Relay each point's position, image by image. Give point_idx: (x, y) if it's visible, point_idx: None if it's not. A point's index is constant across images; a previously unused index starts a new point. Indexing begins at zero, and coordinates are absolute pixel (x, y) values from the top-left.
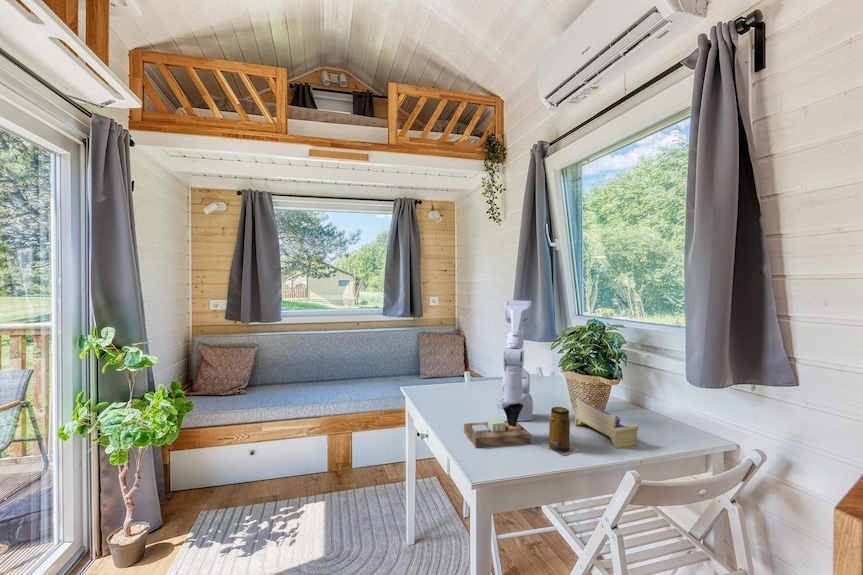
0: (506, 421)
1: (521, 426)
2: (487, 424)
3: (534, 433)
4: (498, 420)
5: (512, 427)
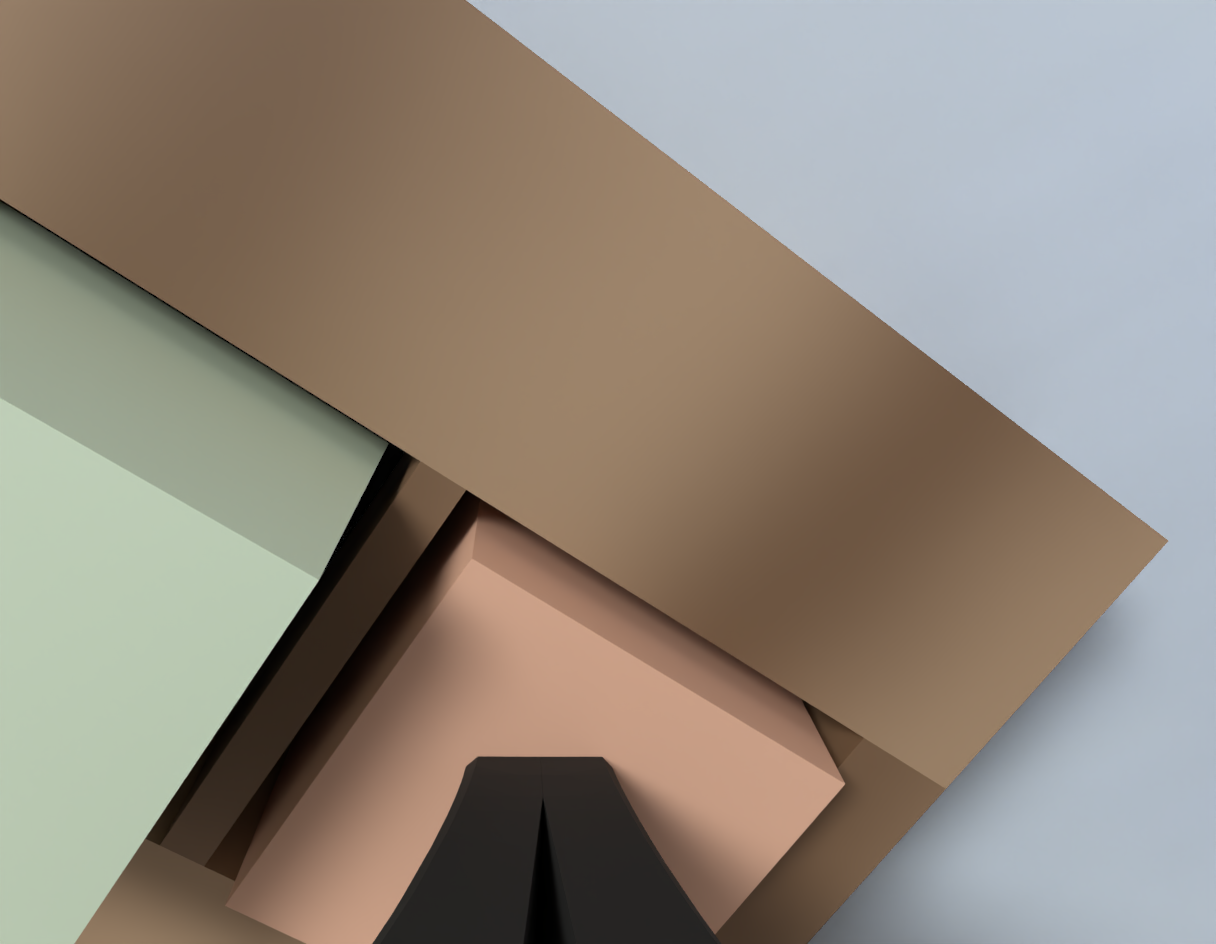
0: (884, 409)
1: (805, 923)
2: (70, 37)
3: (1035, 880)
4: (3, 680)
5: None
